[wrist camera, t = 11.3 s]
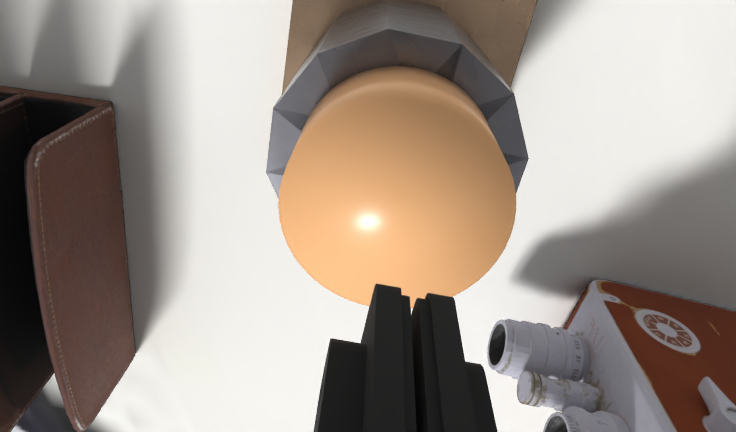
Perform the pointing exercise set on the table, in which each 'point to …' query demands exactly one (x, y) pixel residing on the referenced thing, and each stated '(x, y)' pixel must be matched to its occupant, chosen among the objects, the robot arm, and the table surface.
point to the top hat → (403, 60)
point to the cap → (397, 188)
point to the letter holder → (61, 255)
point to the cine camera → (625, 363)
